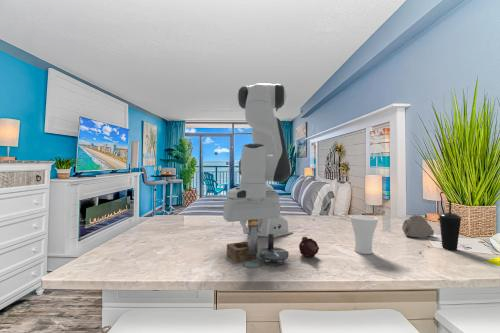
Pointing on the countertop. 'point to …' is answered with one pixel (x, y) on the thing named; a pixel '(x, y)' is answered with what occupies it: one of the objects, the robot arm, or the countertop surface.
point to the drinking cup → (450, 229)
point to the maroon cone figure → (308, 247)
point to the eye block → (239, 252)
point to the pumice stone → (417, 227)
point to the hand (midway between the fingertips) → (252, 232)
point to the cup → (363, 232)
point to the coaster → (252, 264)
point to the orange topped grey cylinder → (252, 237)
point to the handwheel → (273, 251)
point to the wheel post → (274, 262)
